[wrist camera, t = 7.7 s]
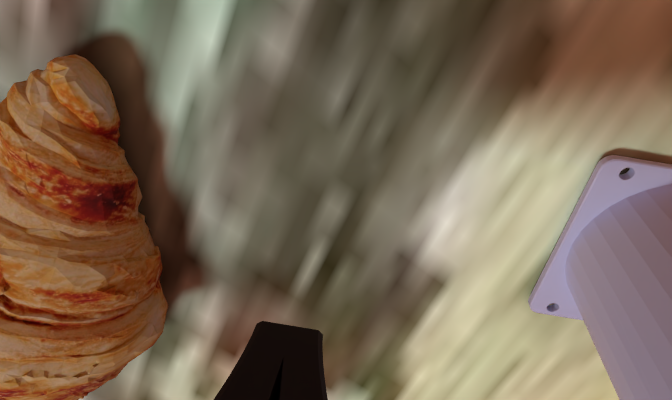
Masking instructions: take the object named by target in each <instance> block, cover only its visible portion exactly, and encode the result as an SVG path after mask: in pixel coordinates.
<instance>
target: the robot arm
mask: <svg viewBox="0 0 672 400" xmlns="http://www.w3.org/2000/svg"><path fill="white" fill-rule="evenodd" d="M625 168H630V170H629V171H628V172H627V173H625V174H621V175H619V174H620V172H621V171H622V170H623V169H625ZM528 303H529V306H530V308H531V310H532V311H534V312H537V313H542V314H548V315H554V316H560V317H566V318H572V319H579V320H584V323H585V325H586V327H587V329H588V331H589V333H590V336H591V338H592V340H593V342H594V344H595V347H596V349H597V351H598V353H599V355H600V358H601V360H602V362H603V364H604V366H605V369H606V371H607V373H608V375H609V377H610V380H611V382H612V384H613V386H614V388H615V391H616V393H617V395H618V397H619V399H620V400H672V165H671V164H665V163H659V162H654V161H648V160H642V159H636V158H630V157H624V156H618V155H610V156H607V157H604V158H603V159H601V160H600V161H599V162H598V164H597V165H596V167H595V169H594V171H593V173H592V175H591V177H590V179H589V181H588V183H587V185H586V187H585V189H584V191H583V193H582V195H581V197H580V199H579V201H578V203H577V204H576V206H575V208H574V210H573V212H572V214H571V216H570V218H569V220H568V222H567V224H566V226H565V228H564V230H563V232H562V234H561V236H560V238H559V240H558V242H557V244H556V246H555V248H554V250H553V252H552V254H551V256H550V258H549V260H548V262H547V264H546V265H545V267H544V269H543V271H542V273H541V275H540V277H539V279H538V281H537V283H536V285H535V287H534V289H533V291H532V293H531V295H530V297H529V300H528ZM552 303H555V304H553V305H549V304H552ZM322 340H323V335H322V334H321V332H320V331H319V330H314V329H308V328H302V327H296V326H289V325H283V324H277V323H271V322H265V321H261V322H259V323H257V325H256V327H255V329H254V332H253V334H252V336H251V338H250V340H249V342H248V344H247V346H246V348H245V350H244V352H243V353H242V355H241V357H240V359H239V361H238V362H237V364H236V366H235V367H234V369H233V371H232V372H231V374H230V376H229V377H228V379H227V380H226V382H225V383H224V385H223V386H222V388H221V389H220V391H219V392H218V394H217V395H216V397H215V399H214V400H328V399H327V393H326V385H325V377H324V368H323V352H322Z"/></svg>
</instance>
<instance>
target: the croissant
mask: <svg viewBox="0 0 672 400" xmlns="http://www.w3.org/2000/svg"><path fill="white" fill-rule="evenodd" d="M119 127H120V117H119V114H118V110H117V108H116V105H115V101H114V97H113V94H112V91H111V89H110V86H109V84H108V82H107V81H106V80H105V79H104V77H103V76H102V75H101V74H100V73H99V72H98V70H97V69H96V68H95V67H94V65H93V64H91V63H90V62H89V61H88V60H87V59H86V58H83V57H81V56H78V55H76V54H74V55H69V56H63V57H57V58H54V59H53V60H51V61H50V62H48V63H47V67H46V69H45V70H44V71H43V70H39V69H37V70H34V71H32V72H31V73H30V75H29V77H28V79H27V81H23V82H17V83H14V84H13V86H12V87H11V89H10V90H9V91H8V94H7V97H6V98H5V99H4V100H3V101H2V102H1V103H0V400H78V399H79V398H81V399H83V398H84V396H87V394H88V393H89V392H92V391H94V390H95V389H97V388H98V387H100V386H101V385H103V384H104V383H106V382H107V381H108V380H111V379H113V378H116V376H117V375H118V374H119V373H120V372H121V370H122V369H123V368H124V367H125V366H126V365H127V363H128V362H130V361H131V360H133V359H134V358H136V357H137V356H139V355H140V354H141V353H143V352H144V351H146V350H147V349H148V348H150V347H151V346H153V345H154V343H155V342H156V341H157V339H158V338H159V336H160V335H161V334H162V332H163V328H164V323H165V317H166V312H167V308H168V303H167V301H166V299H165V296H164V294H163V291H162V287H161V284H160V280H159V278H160V276H161V274H162V268H163V267H162V263H161V253H160V250H159V248H158V246H154V243H153V240H152V238H151V235H150V232H149V228H148V226H147V225H146V223H145V216H144V215H143V214H141V213H139V212H138V206H139V204H140V202H141V199H142V194H141V191H140V188H139V185H138V178H137V176H136V174H134V173H133V171H132V169H131V167H130V166H129V164H128V163H127V161H126V158H125V156H124V155H125V151H124V150H123V149H122V148H121V147H120V146H118V138H119V137H120V133H119V130H118V129H119Z"/></svg>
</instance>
